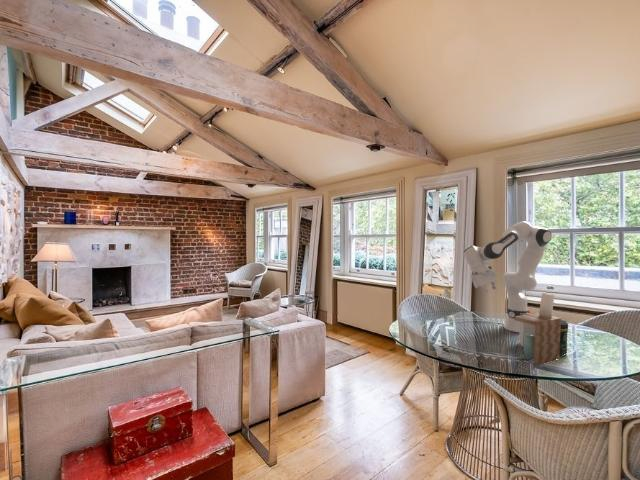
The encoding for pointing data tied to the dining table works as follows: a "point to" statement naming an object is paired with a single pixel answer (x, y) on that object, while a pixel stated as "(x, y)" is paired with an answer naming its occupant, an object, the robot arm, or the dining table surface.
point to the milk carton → (525, 331)
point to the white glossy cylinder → (546, 305)
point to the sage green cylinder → (529, 346)
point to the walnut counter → (544, 336)
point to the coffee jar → (563, 337)
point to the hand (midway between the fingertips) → (490, 291)
